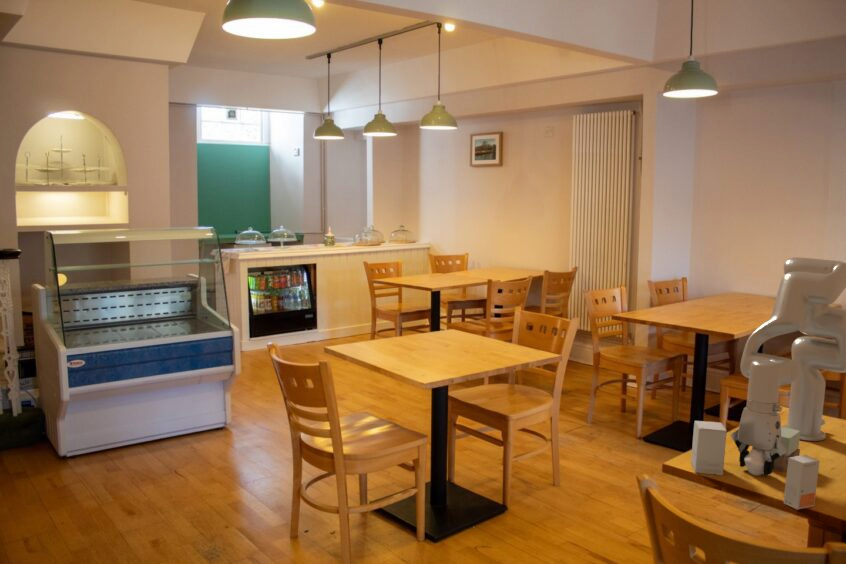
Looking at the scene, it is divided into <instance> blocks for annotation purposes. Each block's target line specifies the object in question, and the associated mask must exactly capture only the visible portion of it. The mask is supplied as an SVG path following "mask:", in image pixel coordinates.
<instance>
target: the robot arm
mask: <svg viewBox="0 0 846 564" xmlns="http://www.w3.org/2000/svg"><path fill="white" fill-rule="evenodd" d="M783 273H784V275H783V276H782V278H781V280H780V282H779V283H780V284H779V288H778V291H777V294H776V298H775V301H774V305H773V308H772V312H771V316H770V318H769V319H768V320H767V321H765V322H763V323H762V324H761V325H759V326H758V327H756V328H755V330H754V331H753V332H752V333H751V334H750V335H749V336H748V339H747V340H746V343H745V345H744V348H743V352H742V354H741V355H742V356H741V359H740V365H739V366H740V372H741V374H742V376H744V377H745V378H747V379H748V384H747V394H746V395H747V397H746V406H745V407H743V410H742V413H741V417H740V420H739V426H738V429H737V430H735V431H734V432H733V433H731V434H730V438H731V439H732V440H733V442H734V444H735V446H736V448H738V449H737V451H738V452H739V459H738V460H739V461H738V462H739V467H741V468H743V467H746V465H745V461H744V458H745V456H746V455H748V454H749V453H750V450H749V447H756V448H759V449H762V450H764V451H765V454H766V458H767V460H766V461H765V463H764V472H763V473H762V475H764V476H768V475H771V474H772V473H773V472H774V469H773V468H774V460H776V459H777V458H779V457H781V456H782V455H784V454H786V453H787V450H786V448H785V447H784V445H783V444H782V442H781V427H785V428H790V429H794V430H798V431H800V439H799V440H800V441H801V440H802V441H809V442H819V441H824V440H825V439H826V437H827V436H826V433H825V432H824V431H822V426H824V425H825V424H826V421H825V420H824V419H823V411H824V403H825V396H826V395H825V393H826V392H825V391H826V380H825V377H824V376H823V374H822V372H821V371H820V370H824V371H829V372H835V373H841V374H842V373H846V308H842V307H832V306H831V305H832V304H834V303H835V302H836V301H837V300H838V299H839V297H840V296H841V294H843V292H844V291H845V289H846V262H844V261H841V260H833V259H832V260H830V259H822V258H821V259H820V258H812V257H810V258H808V257H798V256H797V257H790V258H788V259H786V260H785V262H784V264H783ZM798 331H799V332H800V333H802V334H804V336H800V337H797V338H795V340H794V341H793V342H792V344H791V353H790V354H791V358H788V357H783V356H777V355H772V354H766V353H761V352H758V351H759V350H760V347H761V346H762V345H763V343H765V342H766V341H768V340H770V339H773V338H775V337H778V336H782V335H785V334H791V333H795V332H798ZM788 385H790V393H789V402H788V411H787V424H784V425H783V426H782V421H781V420H782V419H781V415H780V413H781V412H782V410H783V407H782V406H780V405H779V393H780V387H781V386H788ZM779 412H780V413H779ZM774 448H776V449H779V451H778V452H777V453H775V450H774Z"/></svg>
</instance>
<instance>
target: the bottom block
mask: <svg viewBox="0 0 846 564" xmlns="http://www.w3.org/2000/svg"><path fill="white" fill-rule="evenodd" d="M751 447H752V449H759V448H755V447H753V446H751ZM752 449H751V450H752ZM760 450H762V449H760ZM762 451H763V452H764V455H765V457H766V454H765V451H764V450H762ZM800 452H801V449H800V448H798V449H797V450H795V451H794V452H793V453H791V454H790V455H789V456H786V455H782V456H781V457H779V458H777V459H776V460H774V468H773V470H775V471H779V472H781V473H783V471H784V472H787V467H788V459H789V458H790V457H795V456H801V453H800Z"/></svg>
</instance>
